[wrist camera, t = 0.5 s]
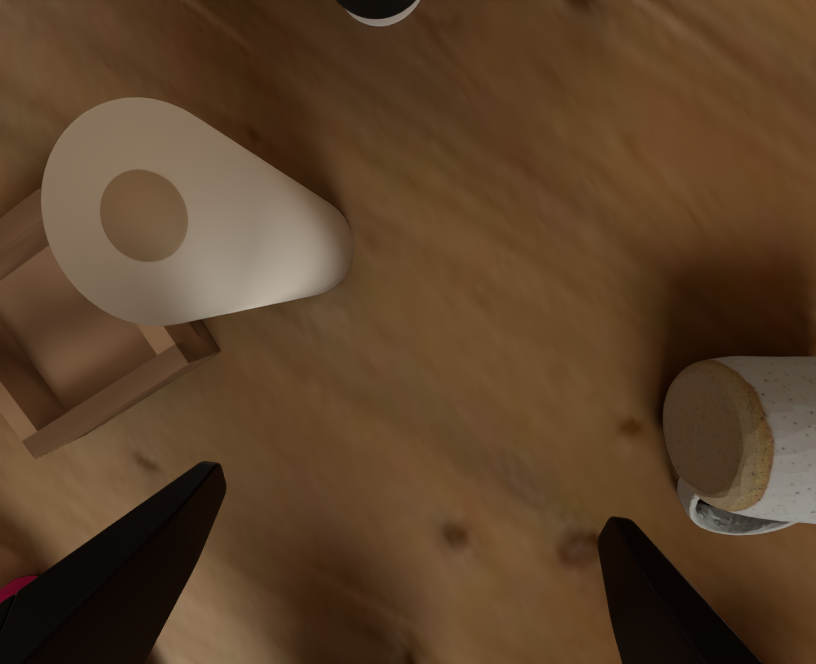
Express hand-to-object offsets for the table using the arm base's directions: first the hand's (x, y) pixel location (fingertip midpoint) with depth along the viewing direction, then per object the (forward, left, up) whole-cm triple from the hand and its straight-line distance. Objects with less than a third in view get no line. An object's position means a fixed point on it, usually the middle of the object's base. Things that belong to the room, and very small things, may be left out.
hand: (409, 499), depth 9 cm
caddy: (-4, +19, -13) cm, 24 cm away
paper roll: (+4, +8, -13) cm, 16 cm away
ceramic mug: (+2, -18, -14) cm, 22 cm away
